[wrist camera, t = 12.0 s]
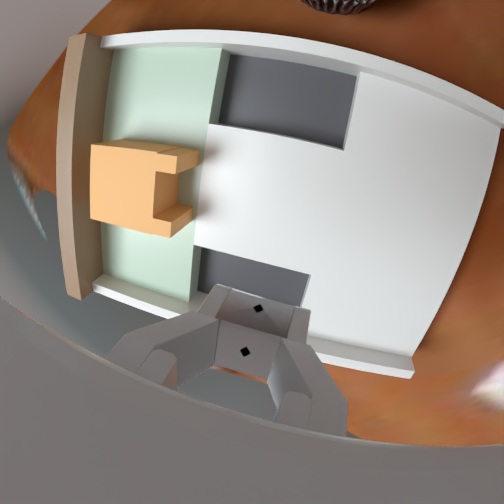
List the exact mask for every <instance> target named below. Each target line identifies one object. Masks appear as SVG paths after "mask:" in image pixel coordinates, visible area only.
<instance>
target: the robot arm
mask: <svg viewBox="0 0 504 504" xmlns="http://www.w3.org/2000/svg"><path fill="white" fill-rule="evenodd" d="M310 315H311V310H310V309H307V308H302V307H298V306H292V305H288V304H285V303H281V302H277V301H273V300H269V299H266V298H263V297H260V296H257V295H253V294H250V293H247V292H244V291H240V290H237V289H234V288H231V287H227V286H224V285H221V284H216V285H214V287H213V288H212V290H211V291H210V293H209V294H208V296H207V297H206V299H205V300H204V302H203V303H202V305H201V306H200V308H199V309H198V311H197V312H195V311H190V312H187V313H184V314H181V315H178V316H176V317H173V318H170V319H167V320H164V321H161V322H158V323H155V324H152V325H150V326H146V327H143V328H140V329H137V330H135V331H131V332H129V333H126V334H125V335H124V336H123V338H121V339H120V341H119V342H118V343H117V344H116V345H115V347H114V348H113V349H112V350H111V351H110V352H109V354H108V355H107V356H106V357H105V358H104V359H103V358H101V357H99V356H97V355H95V354H93V353H91V352H89V351H88V350H86V349H84V348H82V347H80V346H78V345H77V344H75V343H73V342H71V341H69V340H68V339H66V338H64V337H62V336H61V335H59V334H57V333H56V332H54V331H52V330H50V329H49V328H47V327H45V326H44V325H42V324H41V323H39V322H37V321H36V320H34V319H33V318H31V317H30V316H28V315H26V314H25V313H23V312H22V311H20V310H19V309H18V308H16V307H15V306H13V305H12V304H10V303H9V302H7V301H6V300H5V299H3V298H2V297H0V504H504V444H502V445H486V446H426V445H409V444H397V443H386V442H377V441H369V440H362V439H355V438H348V437H346V429H347V411H348V402H347V400H346V399H345V397H344V396H343V394H342V393H341V391H340V390H339V388H338V387H337V385H336V383H335V382H334V380H333V379H332V377H331V376H330V374H329V373H328V371H327V370H326V368H325V367H324V365H323V363H322V362H321V360H320V359H319V357H318V356H317V354H316V353H315V351H314V350H313V348H312V347H311V345H308V344H306V341H307V335H308V328H309V321H310ZM213 364H215V365H218V366H222V367H225V368H229V369H232V370H236V371H239V372H242V373H245V374H249V375H252V376H255V377H258V378H261V379H264V380H267V383H268V386H269V389H270V391H271V394H272V397H273V400H274V402H275V405H276V408H277V412H276V414H275V417H274V418H273V421H268V420H264V419H260V418H257V417H253V416H250V415H246V414H242V413H239V412H236V411H233V410H229V409H226V408H223V407H220V406H217V405H214V404H211V403H208V402H205V401H202V400H199V399H197V398H194V397H191V396H189V395H186V394H183V393H181V392H178V391H177V387H178V386H180V385H182V384H183V383H185V382H187V381H188V380H190V379H192V378H194V377H195V376H197V375H199V374H200V373H202V372H204V371H205V370H206V369H208V368H210V367H212V366H213Z"/></svg>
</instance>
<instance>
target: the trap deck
mask: <svg viewBox="0 0 504 504" xmlns="http://www.w3.org/2000/svg"><path fill="white" fill-rule="evenodd" d="M501 128H503V129H504V110H502V109H501V108H499V107H497V106H495V105H494V104H492V103H490V102H488V101H486V100H484V99H482V98H480V97H479V96H477V95H475V94H473V93H471V92H468V91H466V90H464V89H462V88H460V87H458V86H456V85H454V84H451V83H449V82H447V81H445V80H442V79H440V78H437V77H435V76H433V75H430V74H428V73H425V72H422V71H420V70H417V69H415V68H412V67H409V66H406V65H403V64H400V63H397V62H394V61H391V60H388V59H385V58H382V57H379V56H375V55H372V54H368V53H365V52H361V51H357V50H353V49H349V48H345V47H341V46H337V45H332V44H328V43H323V42H318V41H313V40H307V39H301V38H295V37H289V36H282V35H274V34H266V33H256V32H244V31H229V30H161V31H146V32H135V33H126V34H118V35H110V36H103V37H101V36H97V35H93V34H88V33H85V34H80V35H75V36H71V37H70V38H69V42H68V48H67V53H66V59H65V64H64V71H63V78H62V85H61V93H60V103H59V114H58V128H57V152H56V186H57V209H58V223H59V235H60V246H61V254H62V262H63V269H64V276H65V282H66V289H67V294H68V295H70V296H73V297H75V298H77V299H80V300H83V299H84V298H85V297H86V296H87V295H89V293H91V292H92V291H95V292H97V293H100V294H102V295H105V296H107V297H110V298H113V299H115V300H118V301H120V302H123V303H126V304H128V305H131V306H133V307H136V308H139V309H142V310H144V311H147V312H150V313H153V314H156V315H158V316H161V317H164V318H167V319H170V318H173V317H176V316H178V315H181V314H184V313H187V312H190V311H195V312H197V311H198V309H199V308H200V306H201V305H202V303H203V302H204V300H205V299H206V297H207V296H208V294H209V293H210V291H211V290H212V288H213V287H214V285H216V284H221V285H224V286H227V287H231V288H234V289H237V290H240V291H244V292H247V293H250V294H253V295H257V296H260V297H263V298H266V299H269V300H273V301H277V302H281V303H285V304H288V305H292V306H298V307H302V308H307V309H310V310H311V315H310V321H309V328H308V335H307V341H306V344H308V345H311V347H312V348H313V350H314V351H315V353H316V354H317V356H318V357H319V359H320V360H321V362H323V363H328V364H332V365H337V366H342V367H347V368H352V369H357V370H362V371H367V372H373V373H378V374H384V375H390V376H396V377H402V378H408V379H410V378H411V377H412V375H413V374H414V372H415V370H414V366H413V362H412V358H411V357H412V355H413V354H414V352H415V350H416V349H417V347H418V345H419V344H420V342H421V340H422V338H423V337H424V335H425V333H426V331H427V330H428V328H429V326H430V324H431V322H432V320H433V319H434V317H435V315H436V313H437V311H438V309H439V307H440V305H441V303H442V301H443V299H444V297H445V295H446V293H447V291H448V289H449V286H450V284H451V282H452V280H453V278H454V276H455V273H456V271H457V269H458V266H459V264H460V262H461V259H462V257H463V255H464V252H465V250H466V247H467V244H468V242H469V239H470V237H471V234H472V231H473V229H474V226H475V223H476V220H477V217H478V214H479V211H480V208H481V205H482V202H483V199H484V195H485V192H486V189H487V185H488V182H489V178H490V174H491V171H492V167H493V163H494V158H495V154H496V150H497V145H498V140H499V135H500V130H501ZM119 139H126V140H135V141H144V142H153V143H161V144H169V145H176V146H183V148H188V149H195V150H200V157H199V164H198V166H196V167H193V168H190V169H188V170H185V171H183V172H180V176H179V185H178V196H177V203H178V204H182V205H187V206H192V207H193V217H192V221H191V222H190V223H189V224H187V225H186V226H185V227H184V228H182V229H181V230H180V231H179V232H177V233H176V234H175V235H174V236H172V237H171V238H167V237H163V236H159V235H155V234H152V235H151V234H147V233H143V232H139V231H135V230H132V229H128V228H124V227H120V226H116V225H113V224H109V223H105V222H101V221H98V220H94V219H90V158H91V144H96V143H101V142H107V141H113V140H119Z"/></svg>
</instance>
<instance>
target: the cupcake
mask: <svg viewBox="0 0 504 504" xmlns="http://www.w3.org/2000/svg"><path fill="white" fill-rule="evenodd" d="M300 1H301V2H304V3H306V4H307V5H308V6H310V7H312V8H313V9H315V10H318V11H323V12H326V13H329V14H343V15H346V14H348V13H358V12H360V11H361V10H362V9H364V8H367V7H368V6H370V5H371V4H372V3H373V2H375V1H376V0H300Z"/></svg>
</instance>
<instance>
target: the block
mask: <svg viewBox="0 0 504 504" xmlns="http://www.w3.org/2000/svg"><path fill="white" fill-rule="evenodd" d="M199 157H200V150H195V149H188V148H183V146H176V145H169V144H161V143H153V142H144V141H135V140H126V139H119V140H113V141H107V142H101V143H96V144H91V158H90V219H94V220H98V221H101V222H105V223H109V224H113V225H116V226H120V227H124V228H128V229H132V230H135V231H139V232H143V233H147V234H151V235H152V234H155V235H159V236H163V237H167V238H171V237H172V236H174V235H175V234H176V233H177V232H179V231H180V230H181V229H182V228H184V227H185V226H186V225H187V224H189V223H190V222H191V221H192V217H193V207H192V206H187V205H182V204H178V203H177V196H178V185H179V176H180V172H183V171H185V170H188V169H190V168H193V167H196V166H198V164H199Z"/></svg>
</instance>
